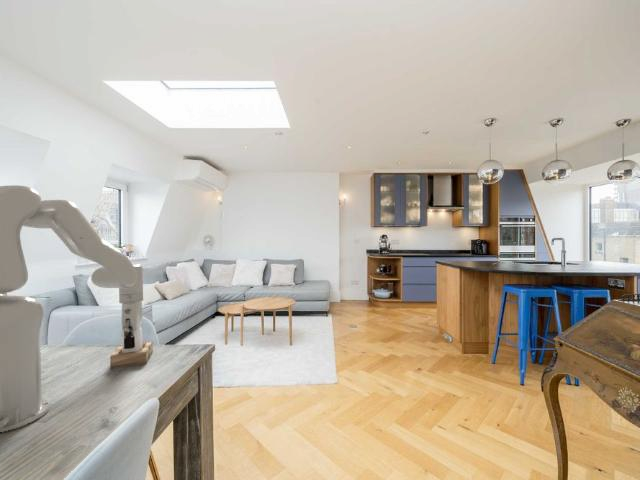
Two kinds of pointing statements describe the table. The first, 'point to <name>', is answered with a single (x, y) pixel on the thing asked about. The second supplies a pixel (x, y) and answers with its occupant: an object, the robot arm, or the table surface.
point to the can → (137, 341)
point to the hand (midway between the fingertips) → (132, 344)
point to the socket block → (131, 356)
